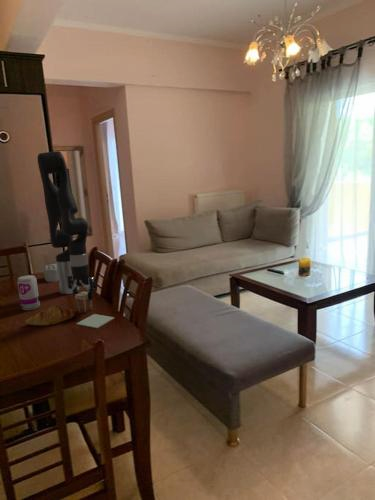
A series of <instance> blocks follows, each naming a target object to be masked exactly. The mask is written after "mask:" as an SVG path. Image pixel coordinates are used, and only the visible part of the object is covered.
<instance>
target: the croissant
mask: <svg viewBox="0 0 375 500" xmlns="http://www.w3.org/2000/svg"><path fill="white" fill-rule="evenodd" d="M78 314H79V312H78V310H77V309H73V308H66V307H60V306H58V305H52V306H50V307H48V309H44V310H41V311H40V312H39V313H37V314H35V315H32V316H31V317H30V318H27V319H25V324H27V325H29V326H50V325H57V324H60V323H62V322H65V321H67V320H70V319H73V318H74V317H76V316H77V315H78Z"/></svg>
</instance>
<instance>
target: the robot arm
mask: <svg viewBox="0 0 375 500" xmlns="http://www.w3.org/2000/svg"><path fill="white" fill-rule="evenodd" d="M37 165H38V171H39V174H40V177H41V181H42V187H43V188H42V189H43V195H44V196H43V197H44V203H45V209H46V215H47V219H48V226H49V237H50V238H49V239H50V242H51V243H50V244H51V246H52V247H53V248H55V249H60V248H61V249H62V248H66V250H64V251H63V252H61V253H58V254H57V255H55V262H56V264H57V270H58V278H59V281H58V284H59V293H60V294H61V295H70V294H72V295H73V298H74V299H75V295H76V294H78V293H79V290H80V287H81V288H84V289H85V290H86V292H88V298H87V300H88V301H89V300H93V299H94V291H96V290H97V284H96V278H95V276H92V277H90V275H89V273H90V267H89V258H88V257H89V256H88V253H87V245H86V243H87V236H88V230H89V224H88V221H87V220H86V219H85V218H84V217H77V218H71V217H72V216H74V215H76V214H77V213H78V210H79V209H78V206H77V203H76V200H75V197H74V194H73V191H72V186H71V181H70V177H69V172H68V168H67V164H66V160H65V155H63V153H62V152H61V151H60V150H59V151H58V150H57V151H56V150H55V151H49V152H47V151H46V152H42V153H39V154H38V155H37ZM57 173H60V183H59V187H57V186H56V185H55V184H54V183H53V181H52V179H50V175H52V174H57ZM60 222H62V223H61V224H62V225H61V228H62V229H57V228H58V225H59V223H60ZM74 236H76V238H75V239H74Z"/></svg>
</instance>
